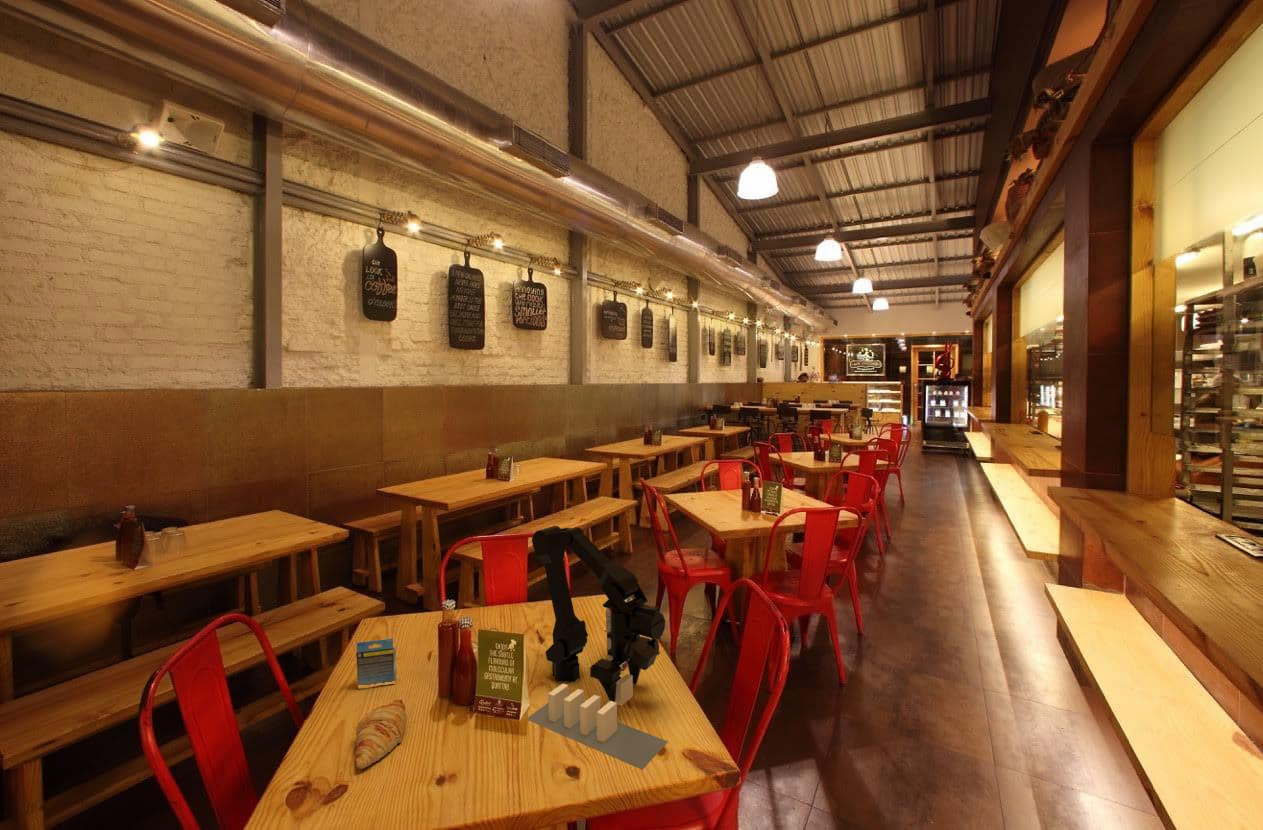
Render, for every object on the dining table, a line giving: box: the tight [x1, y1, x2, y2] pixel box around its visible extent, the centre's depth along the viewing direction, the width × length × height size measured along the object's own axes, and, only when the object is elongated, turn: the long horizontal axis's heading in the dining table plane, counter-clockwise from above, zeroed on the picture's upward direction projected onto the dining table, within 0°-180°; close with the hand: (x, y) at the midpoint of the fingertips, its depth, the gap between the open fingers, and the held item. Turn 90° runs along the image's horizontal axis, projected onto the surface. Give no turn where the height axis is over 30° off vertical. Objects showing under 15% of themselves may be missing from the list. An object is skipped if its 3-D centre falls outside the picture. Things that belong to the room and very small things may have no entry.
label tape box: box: [355, 637, 398, 686], centre depth 140 cm, size 9×4×12 cm, turn 105°
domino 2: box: [564, 688, 585, 729], centre depth 121 cm, size 2×5×6 cm, turn 146°
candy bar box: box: [605, 597, 632, 671], centre depth 150 cm, size 11×5×16 cm, turn 168°
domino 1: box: [547, 683, 570, 722], centre depth 123 cm, size 2×5×6 cm, turn 147°
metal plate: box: [525, 702, 669, 770], centre depth 118 cm, size 31×10×1 cm, turn 57°
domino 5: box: [615, 673, 634, 707], centre depth 129 cm, size 2×5×6 cm, turn 147°
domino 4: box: [597, 700, 618, 743], centre depth 116 cm, size 2×5×6 cm, turn 146°
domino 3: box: [580, 694, 601, 736], centre depth 118 cm, size 2×5×6 cm, turn 146°
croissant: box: [354, 699, 407, 770], centre depth 117 cm, size 21×10×8 cm, turn 5°
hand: (623, 692), depth 129 cm, fingers open, 9 cm apart
